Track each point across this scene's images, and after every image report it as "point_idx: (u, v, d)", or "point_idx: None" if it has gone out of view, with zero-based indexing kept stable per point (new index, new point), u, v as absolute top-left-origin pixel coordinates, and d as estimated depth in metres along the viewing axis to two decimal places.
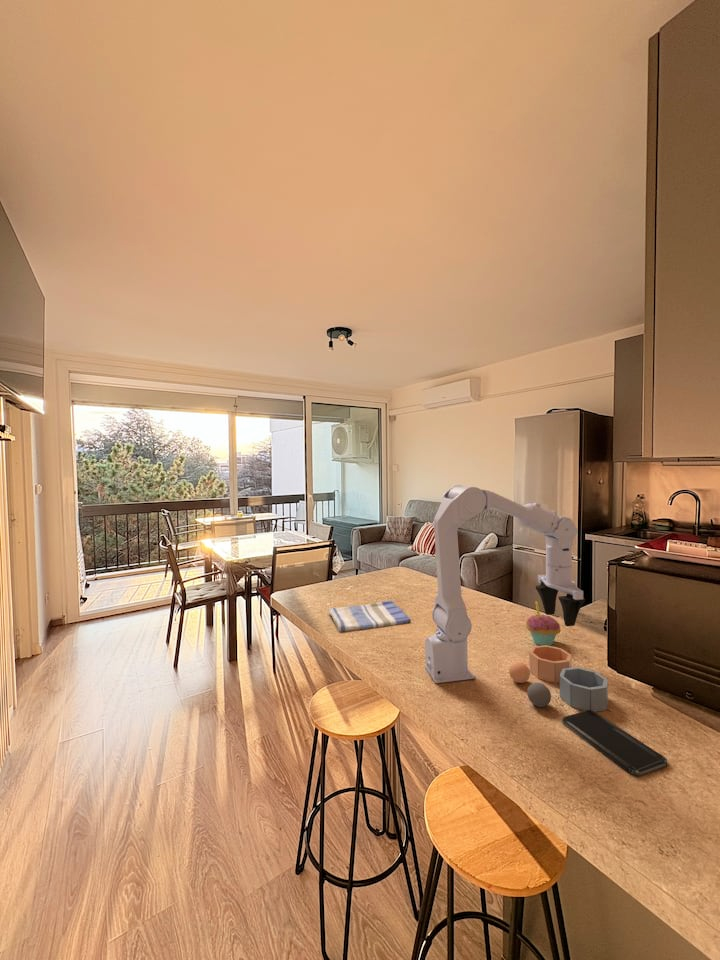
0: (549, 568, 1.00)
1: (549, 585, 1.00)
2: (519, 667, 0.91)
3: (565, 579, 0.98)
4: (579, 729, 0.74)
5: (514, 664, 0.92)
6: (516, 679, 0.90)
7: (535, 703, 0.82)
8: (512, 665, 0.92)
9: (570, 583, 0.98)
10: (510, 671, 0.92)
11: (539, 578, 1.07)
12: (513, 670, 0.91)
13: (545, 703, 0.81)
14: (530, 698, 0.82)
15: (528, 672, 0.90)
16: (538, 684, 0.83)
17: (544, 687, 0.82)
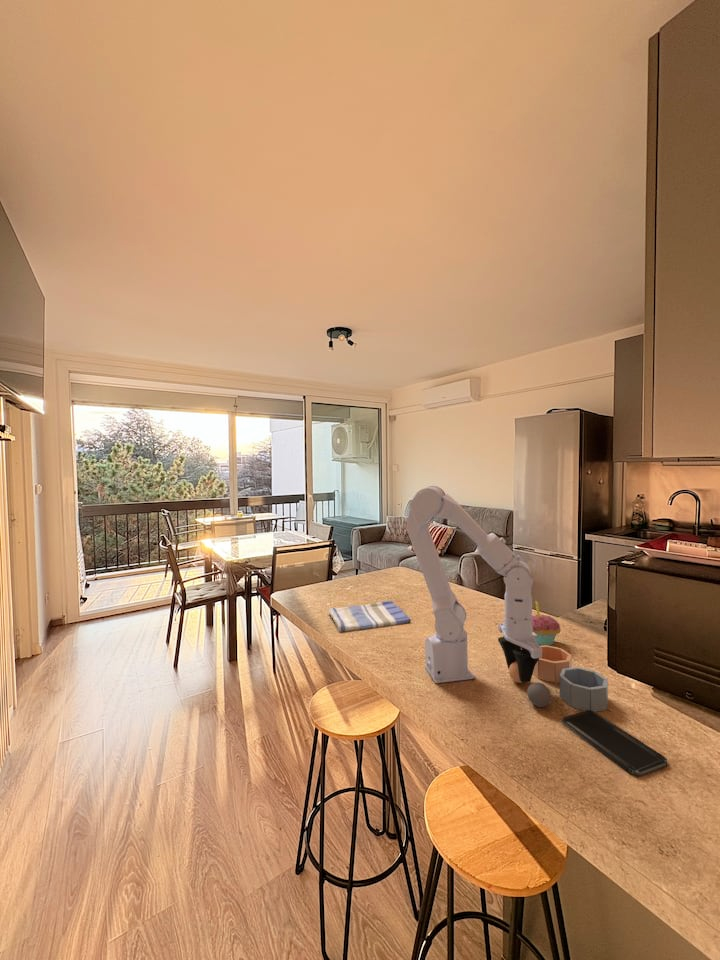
0: (507, 620, 0.91)
1: (507, 638, 0.91)
2: None
3: (524, 633, 0.89)
4: (579, 729, 0.74)
5: (514, 664, 0.92)
6: (516, 679, 0.90)
7: (535, 703, 0.82)
8: (512, 665, 0.92)
9: (530, 637, 0.89)
10: (510, 671, 0.92)
11: (499, 627, 0.98)
12: (513, 670, 0.91)
13: (545, 703, 0.81)
14: (530, 698, 0.82)
15: None
16: (538, 684, 0.83)
17: (544, 687, 0.82)
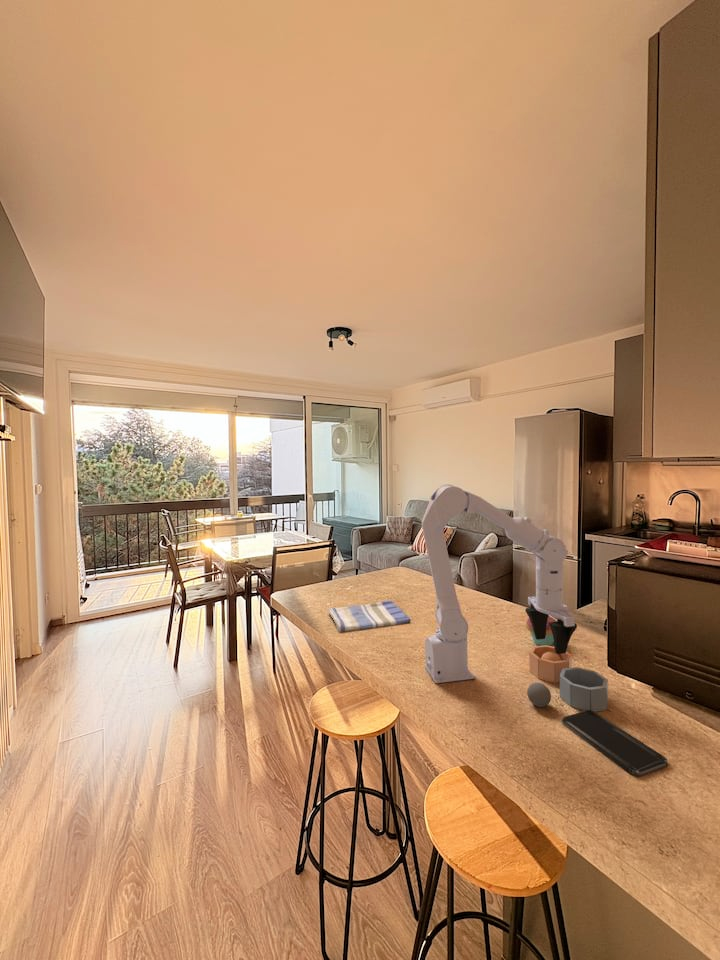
0: (539, 591, 0.94)
1: (539, 609, 0.94)
2: (552, 658, 0.93)
3: (555, 604, 0.92)
4: (579, 729, 0.74)
5: (547, 655, 0.94)
6: None
7: (535, 703, 0.82)
8: (545, 656, 0.95)
9: (561, 607, 0.93)
10: None
11: (529, 600, 1.01)
12: None
13: (545, 703, 0.81)
14: (530, 698, 0.82)
15: None
16: (538, 684, 0.83)
17: (544, 687, 0.82)
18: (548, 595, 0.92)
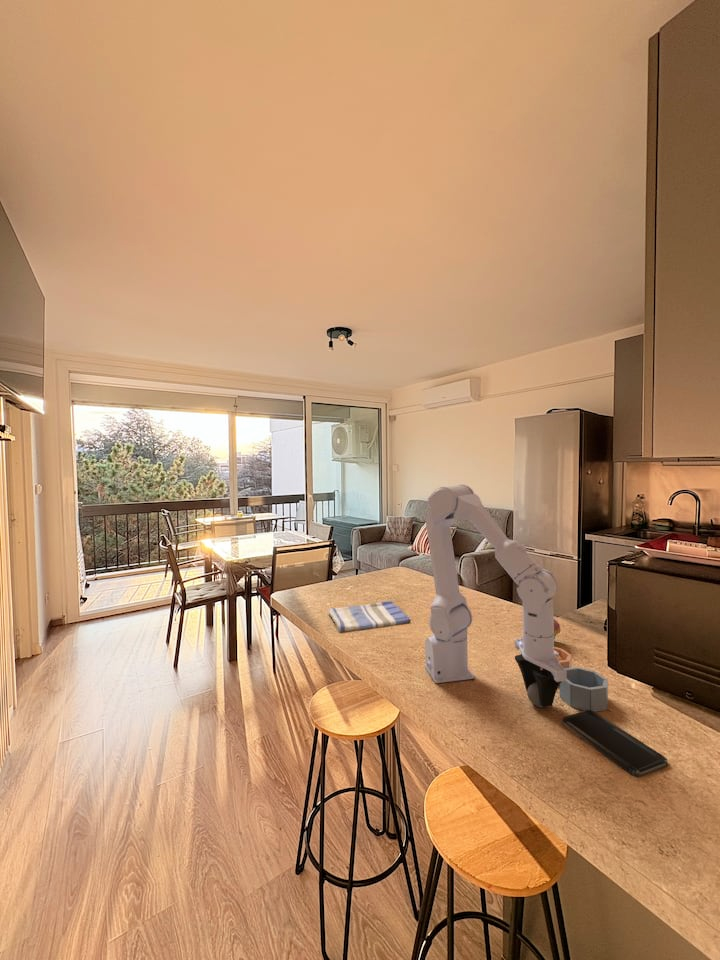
0: (526, 637, 0.82)
1: (526, 658, 0.82)
2: None
3: (545, 652, 0.80)
4: (579, 729, 0.74)
5: None
6: None
7: (535, 703, 0.82)
8: None
9: (551, 656, 0.80)
10: None
11: (516, 643, 0.89)
12: None
13: None
14: (530, 698, 0.82)
15: None
16: None
17: None
18: (536, 642, 0.80)
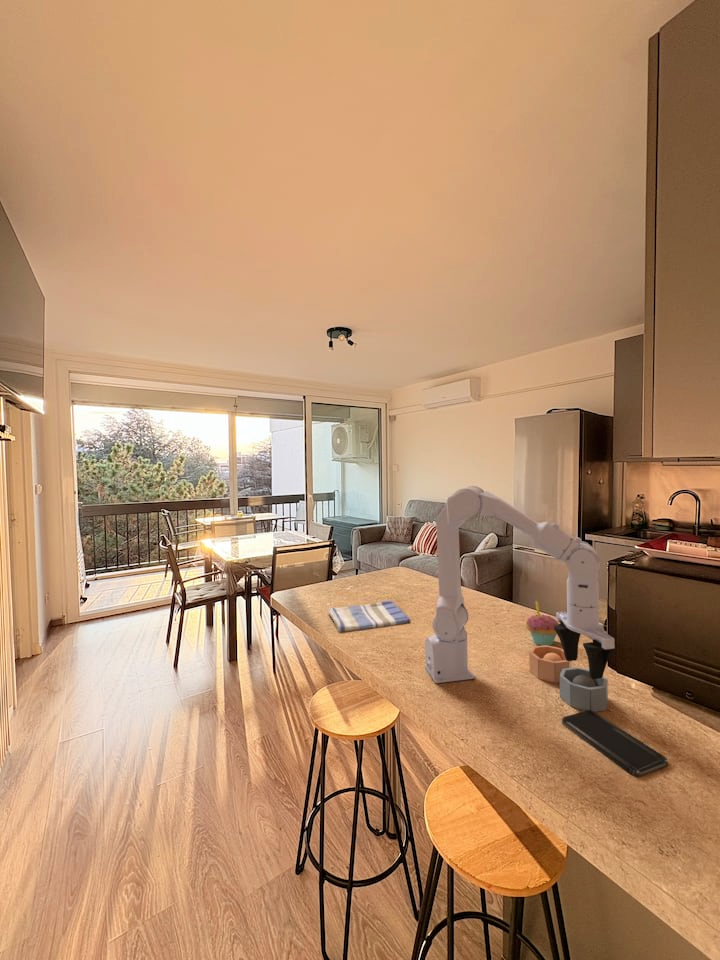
0: (571, 608, 0.83)
1: (571, 628, 0.83)
2: None
3: (591, 622, 0.81)
4: (579, 729, 0.74)
5: (550, 658, 0.93)
6: None
7: None
8: (548, 658, 0.94)
9: (597, 626, 0.82)
10: None
11: (558, 616, 0.90)
12: None
13: None
14: None
15: None
16: (584, 677, 0.84)
17: (590, 680, 0.83)
18: (582, 612, 0.81)
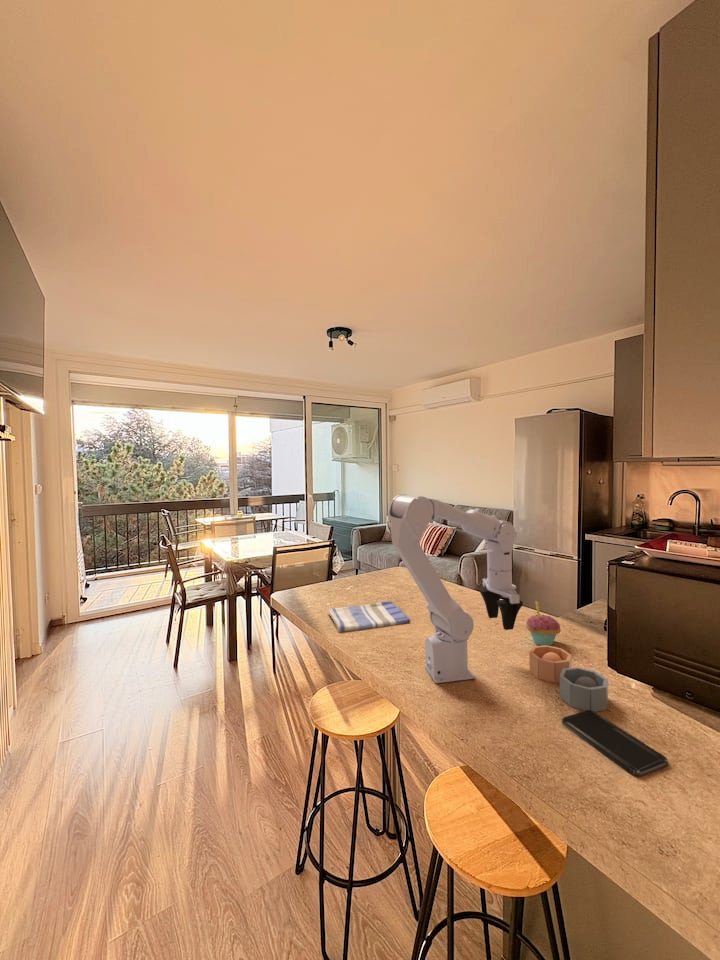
0: (489, 572, 1.00)
1: (489, 589, 1.00)
2: (553, 660, 0.93)
3: (504, 583, 0.98)
4: (579, 729, 0.74)
5: (549, 656, 0.94)
6: None
7: None
8: (547, 657, 0.94)
9: (509, 587, 0.99)
10: None
11: (483, 582, 1.08)
12: None
13: None
14: None
15: None
16: (589, 682, 0.82)
17: (595, 686, 0.82)
18: (497, 575, 0.99)
